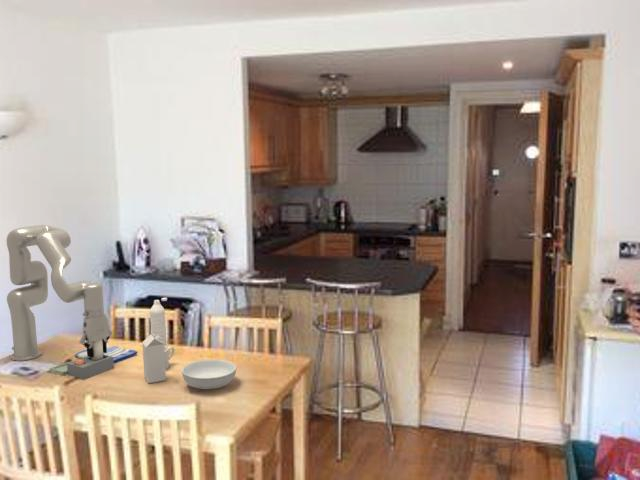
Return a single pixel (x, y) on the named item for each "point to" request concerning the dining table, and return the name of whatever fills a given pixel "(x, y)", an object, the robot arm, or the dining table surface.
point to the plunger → (79, 362)
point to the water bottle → (158, 320)
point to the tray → (60, 369)
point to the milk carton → (154, 359)
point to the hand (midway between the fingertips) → (97, 354)
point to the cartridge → (97, 350)
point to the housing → (90, 367)
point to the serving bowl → (209, 373)
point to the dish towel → (112, 353)
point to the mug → (168, 355)
